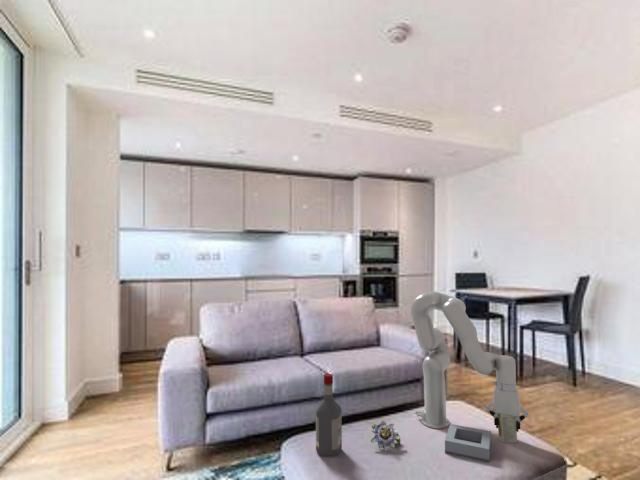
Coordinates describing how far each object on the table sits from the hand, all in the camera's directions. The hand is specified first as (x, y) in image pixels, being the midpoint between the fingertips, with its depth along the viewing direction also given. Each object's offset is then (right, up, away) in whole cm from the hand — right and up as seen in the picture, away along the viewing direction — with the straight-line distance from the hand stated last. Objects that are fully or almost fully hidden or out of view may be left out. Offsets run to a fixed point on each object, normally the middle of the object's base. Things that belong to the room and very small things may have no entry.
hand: (507, 428), depth 161 cm
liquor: (-75, -5, -8) cm, 76 cm away
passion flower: (-52, -5, -4) cm, 52 cm away
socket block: (-19, -5, -7) cm, 20 cm away
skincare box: (0, -5, 0) cm, 5 cm away
